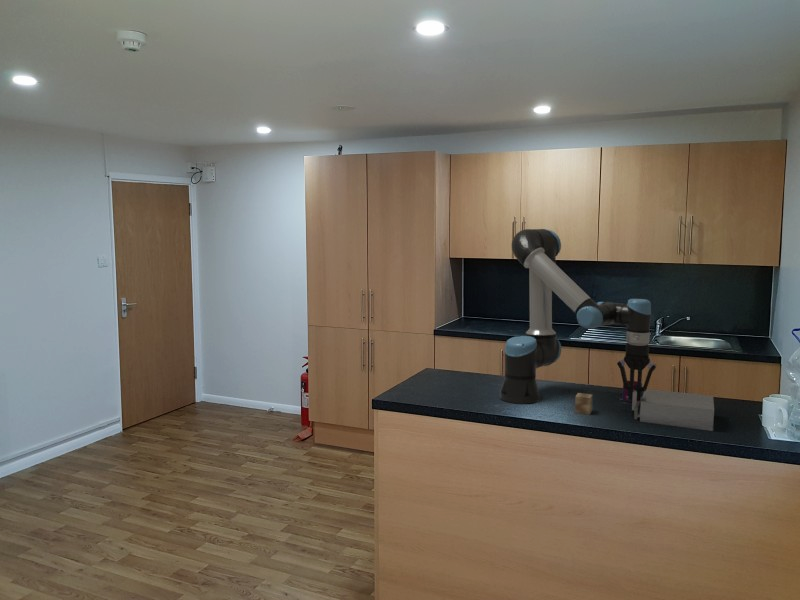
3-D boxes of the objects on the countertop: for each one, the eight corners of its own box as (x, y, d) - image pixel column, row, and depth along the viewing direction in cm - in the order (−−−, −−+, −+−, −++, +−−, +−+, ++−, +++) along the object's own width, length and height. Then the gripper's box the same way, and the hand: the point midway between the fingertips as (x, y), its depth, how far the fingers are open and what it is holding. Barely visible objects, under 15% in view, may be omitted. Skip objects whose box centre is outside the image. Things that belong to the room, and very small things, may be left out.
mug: (621, 401, 229) (622, 383, 228) (624, 394, 238) (625, 377, 237) (640, 403, 226) (641, 385, 225) (642, 397, 234) (643, 379, 234)
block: (575, 412, 214) (575, 396, 214) (577, 409, 219) (578, 392, 218) (589, 414, 212) (590, 398, 211) (591, 410, 217) (592, 394, 216)
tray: (634, 419, 206) (634, 408, 206) (638, 406, 220) (638, 396, 220) (691, 426, 198) (691, 415, 198) (691, 413, 213) (692, 402, 212)
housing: (639, 421, 204) (640, 401, 204) (644, 407, 220) (645, 388, 220) (712, 431, 195) (714, 409, 194) (711, 415, 211) (713, 396, 210)
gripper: (616, 343, 210) (613, 409, 213) (656, 346, 204) (653, 414, 207) (619, 340, 217) (616, 404, 220) (658, 343, 211) (654, 408, 214)
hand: (634, 409), depth 213 cm, fingers closed
